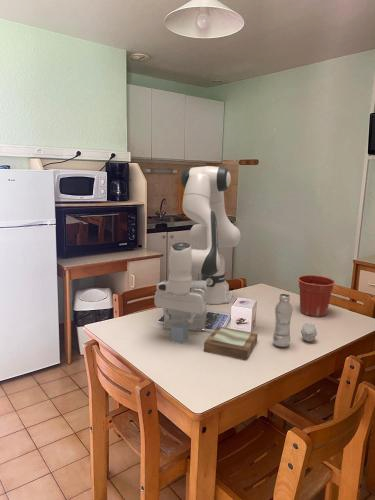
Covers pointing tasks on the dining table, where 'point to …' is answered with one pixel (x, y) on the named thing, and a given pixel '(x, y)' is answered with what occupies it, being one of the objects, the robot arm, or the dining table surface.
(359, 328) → the dining table surface
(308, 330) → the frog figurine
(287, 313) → the plastic bottle
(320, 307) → the flower pot
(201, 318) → the supplement box
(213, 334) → the walnut stand
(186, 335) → the slate block
